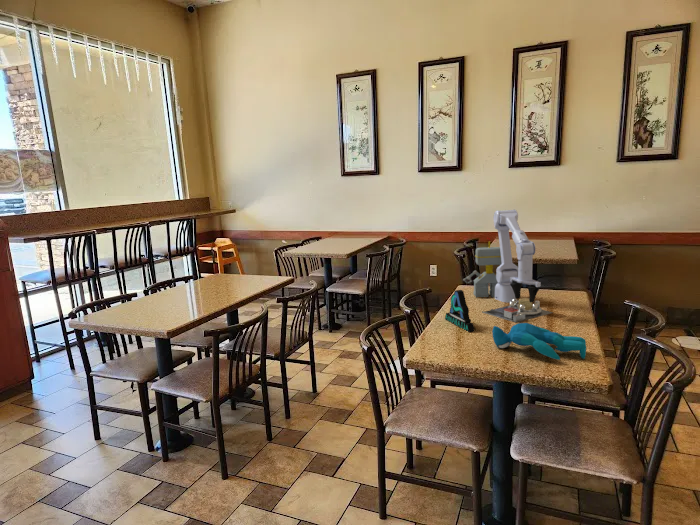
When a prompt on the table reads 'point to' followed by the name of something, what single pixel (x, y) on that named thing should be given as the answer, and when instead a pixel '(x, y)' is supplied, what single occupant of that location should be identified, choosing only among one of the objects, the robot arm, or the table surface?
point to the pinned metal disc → (529, 312)
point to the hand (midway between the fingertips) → (524, 300)
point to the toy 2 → (539, 340)
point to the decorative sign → (462, 317)
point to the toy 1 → (488, 258)
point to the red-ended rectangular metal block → (510, 313)
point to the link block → (525, 303)
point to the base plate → (516, 318)
